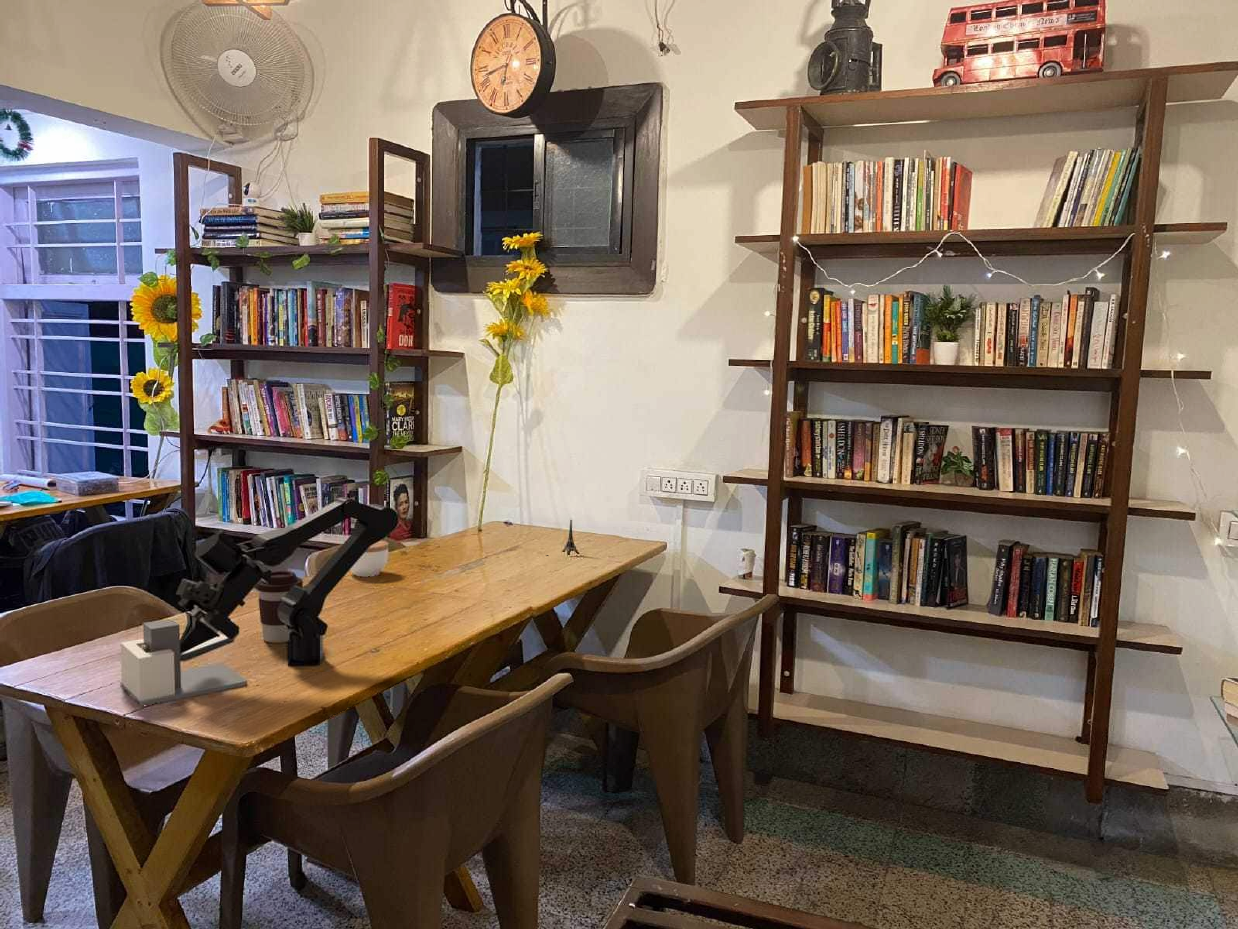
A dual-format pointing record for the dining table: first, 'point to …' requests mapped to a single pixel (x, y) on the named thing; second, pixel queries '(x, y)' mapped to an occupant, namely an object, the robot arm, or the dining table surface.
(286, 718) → the dining table surface
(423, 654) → the dining table surface
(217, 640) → the smartphone
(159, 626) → the plug
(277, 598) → the coffee cup
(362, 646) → the dining table surface
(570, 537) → the eiffel tower figurine
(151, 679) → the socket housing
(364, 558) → the lidded bowl
